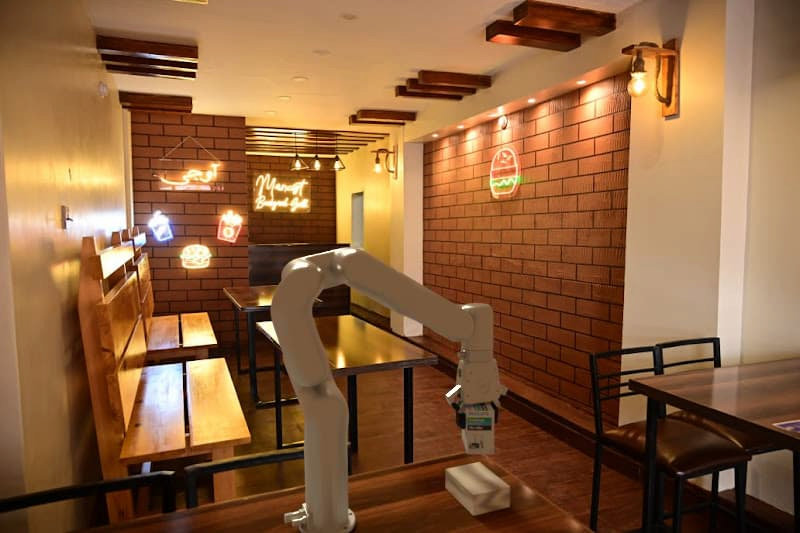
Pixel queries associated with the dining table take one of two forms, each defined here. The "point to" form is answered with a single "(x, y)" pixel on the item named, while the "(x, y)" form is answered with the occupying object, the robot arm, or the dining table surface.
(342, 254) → the robot arm
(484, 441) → the light bulb box
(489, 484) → the ash block
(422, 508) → the dining table surface
